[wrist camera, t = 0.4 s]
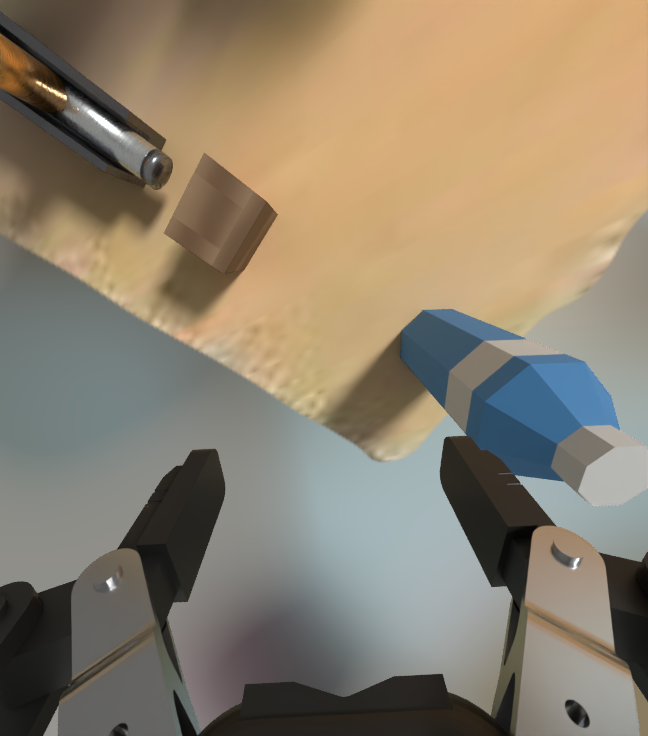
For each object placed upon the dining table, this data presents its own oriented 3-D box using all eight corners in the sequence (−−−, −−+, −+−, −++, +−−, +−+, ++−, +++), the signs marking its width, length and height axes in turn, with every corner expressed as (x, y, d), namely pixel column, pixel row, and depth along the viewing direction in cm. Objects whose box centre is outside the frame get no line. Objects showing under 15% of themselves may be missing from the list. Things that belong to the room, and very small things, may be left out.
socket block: (200, 238, 33) (163, 233, 25) (232, 179, 32) (204, 152, 23) (244, 269, 35) (223, 274, 26) (277, 214, 33) (266, 201, 25)
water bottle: (388, 325, 38) (512, 441, 15) (459, 294, 37) (716, 365, 14) (411, 386, 41) (543, 562, 18) (477, 359, 40) (710, 508, 17)
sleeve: (-9, 79, 28) (-97, 31, 22) (9, 19, 27) (-80, -50, 21) (143, 187, 32) (104, 172, 25) (166, 139, 30) (129, 111, 24)
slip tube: (-16, 64, 25) (-224, -56, 16) (-6, 24, 25) (-217, -129, 15) (162, 192, 29) (87, 162, 19) (176, 162, 28) (106, 114, 19)
